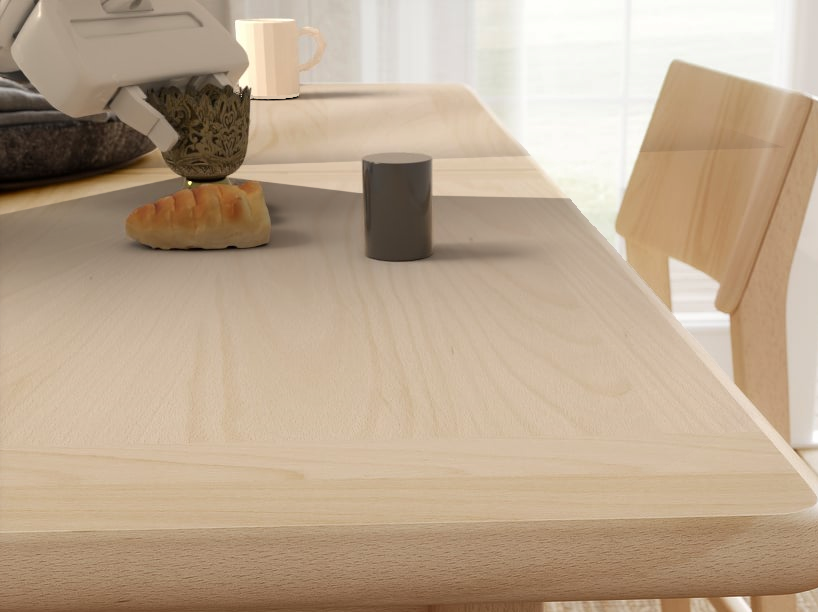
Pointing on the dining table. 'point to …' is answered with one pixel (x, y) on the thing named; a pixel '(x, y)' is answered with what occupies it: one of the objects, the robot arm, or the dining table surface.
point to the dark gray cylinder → (397, 206)
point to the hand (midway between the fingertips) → (209, 137)
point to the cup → (206, 131)
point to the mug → (274, 55)
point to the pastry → (204, 218)
